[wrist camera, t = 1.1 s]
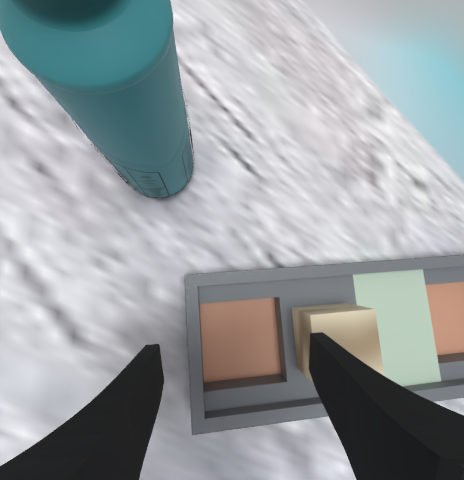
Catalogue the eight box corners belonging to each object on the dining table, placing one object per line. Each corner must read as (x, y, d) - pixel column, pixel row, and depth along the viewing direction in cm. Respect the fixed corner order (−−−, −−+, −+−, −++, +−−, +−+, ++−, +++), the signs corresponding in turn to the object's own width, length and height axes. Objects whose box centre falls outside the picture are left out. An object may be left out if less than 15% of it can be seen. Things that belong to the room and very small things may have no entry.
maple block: (353, 361, 22) (385, 380, 18) (297, 368, 21) (318, 389, 18) (345, 302, 23) (375, 309, 19) (291, 307, 22) (310, 315, 18)
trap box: (497, 374, 25) (536, 387, 22) (194, 413, 22) (192, 434, 19) (474, 254, 27) (507, 251, 24) (187, 274, 24) (184, 274, 21)
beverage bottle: (208, 166, 25) (215, -223, 5) (168, 219, 24) (-7, -29, 4) (155, 128, 25) (-32, -398, 5) (112, 179, 24) (-319, -249, 4)
